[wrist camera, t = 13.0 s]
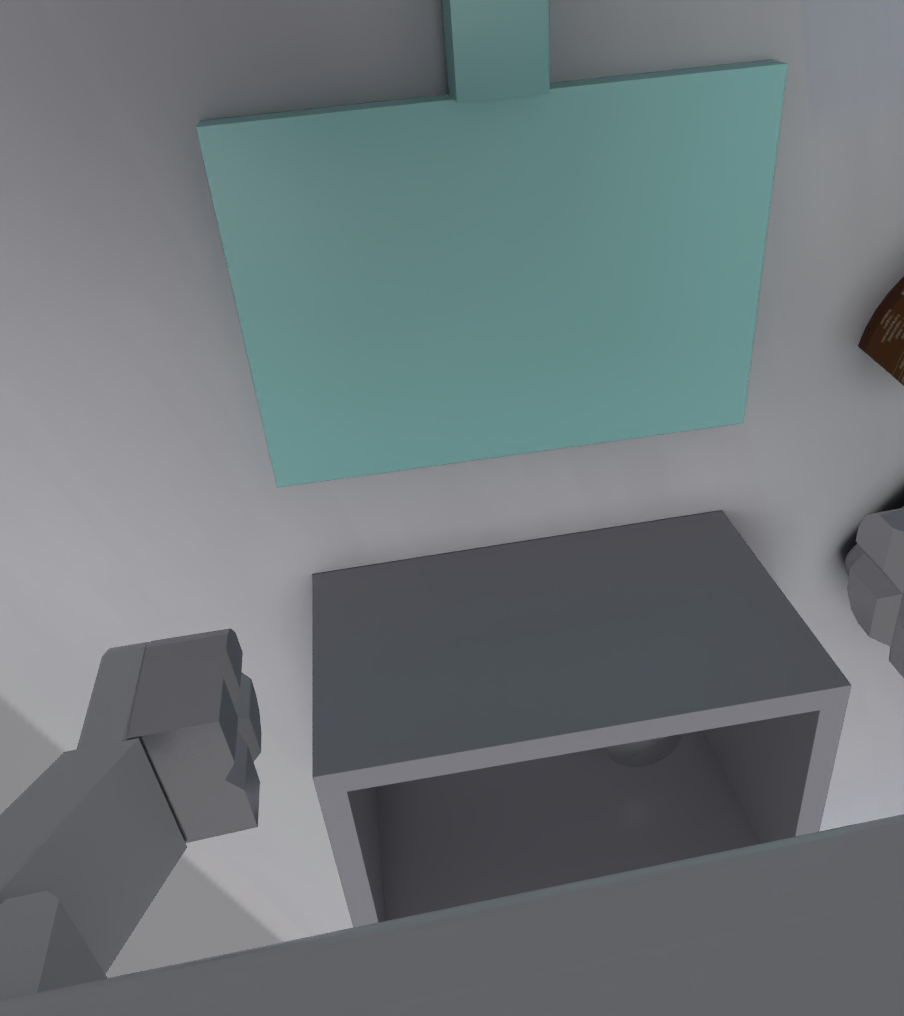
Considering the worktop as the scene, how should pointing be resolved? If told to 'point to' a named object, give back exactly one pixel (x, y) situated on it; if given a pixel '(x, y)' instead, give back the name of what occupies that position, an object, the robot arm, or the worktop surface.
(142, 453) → the worktop surface
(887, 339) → the food container
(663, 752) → the metal round knob
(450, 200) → the lid
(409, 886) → the tub
